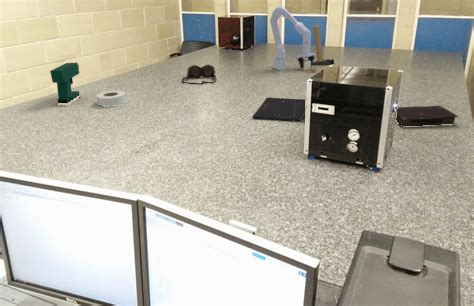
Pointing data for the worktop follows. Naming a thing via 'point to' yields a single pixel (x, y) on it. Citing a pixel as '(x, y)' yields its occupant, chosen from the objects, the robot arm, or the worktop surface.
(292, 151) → the worktop surface
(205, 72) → the goggles
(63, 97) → the power tool
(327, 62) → the hammer
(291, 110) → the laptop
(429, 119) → the diary
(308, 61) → the hollow square socket
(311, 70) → the brown rectangular board
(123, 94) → the roll of tape
